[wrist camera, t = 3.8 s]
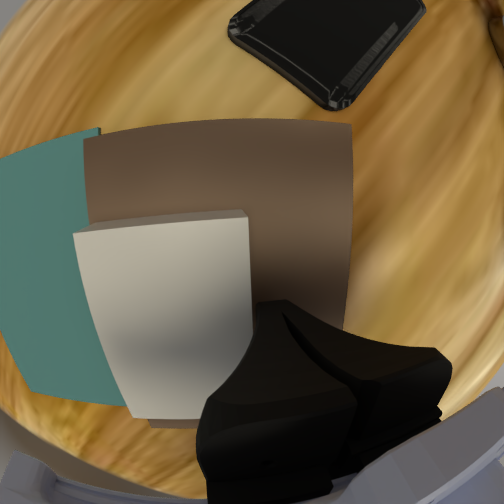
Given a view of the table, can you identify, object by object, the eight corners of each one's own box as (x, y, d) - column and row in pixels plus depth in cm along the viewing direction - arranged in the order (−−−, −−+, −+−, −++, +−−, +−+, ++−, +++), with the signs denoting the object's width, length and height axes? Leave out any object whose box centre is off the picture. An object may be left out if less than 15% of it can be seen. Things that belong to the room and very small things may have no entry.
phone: (218, 28, 10) (351, -56, 8) (218, 37, 11) (346, -49, 9) (342, 119, 12) (430, 8, 10) (333, 122, 13) (422, 13, 11)
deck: (313, 381, 17) (326, 410, 14) (156, 395, 16) (151, 427, 13) (324, 132, 13) (351, 124, 10) (108, 144, 11) (83, 139, 9)
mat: (153, 404, 16) (153, 407, 16) (32, 389, 15) (31, 391, 14) (100, 128, 11) (98, 127, 11) (-30, 174, 10) (-33, 174, 9)
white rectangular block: (250, 386, 13) (256, 414, 11) (139, 391, 12) (133, 417, 10) (241, 209, 10) (248, 217, 8) (95, 222, 10) (72, 233, 8)
